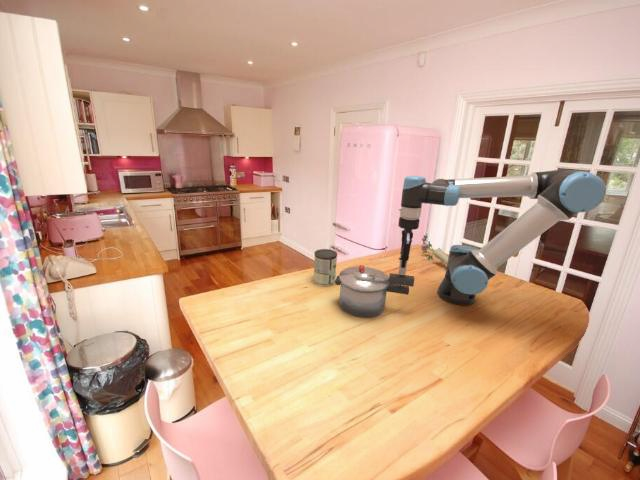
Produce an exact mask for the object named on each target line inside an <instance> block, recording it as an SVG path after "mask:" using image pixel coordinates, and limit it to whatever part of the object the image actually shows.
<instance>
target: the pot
mask: <svg viewBox="0 0 640 480" xmlns="http://www.w3.org/2000/svg"><path fill="white" fill-rule="evenodd" d="M334 285H336V286H340V291H339V301H338V304H339V307H340V309H341V310H342V311H343V312H344V313H346V314H348V315H349V316H353V317H355V318H361V319H369V318H372V319H373V318H376V317H379V316H381V315H382V314H383V313H384V311H385V305H386V300H387V299H386V298H387V293H394V294H400V295H409V294H410V286H403V285H396V284H390V285H389V287H388V288H387V289H385V290H383V291H380V292H360V291H355V290H352V289H350V288H347V287H346V286H344V285H343V284H342V283H341V282H340V280H339V275H337V276H336V278H335V283H334Z"/></svg>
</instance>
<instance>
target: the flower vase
mask: <svg viewBox="0 0 640 480" xmlns="http://www.w3.org/2000/svg"><path fill="white" fill-rule="evenodd" d="M428 239H429V238H428V233H426V234H425V235H423V237H422V239H421V241H422V244H421V251H422V252H421V253H422V254H425V253H429V254H427V255H426V256H425V257H426V258H427V259H428V260H430V259H432V258H433V257H435V258H436V259H438V260H440V261H441V262H442V263H444V264H445V265H446V266H447V263H448V258H449V255H447V254H446V253H445V252H444V251H443V249H441V248H440V247H437V249H435V250H434V248H433V245H432V244H431V241H430V240H429V241H428ZM428 250H431V252H432V253H431V252H429V251H428Z"/></svg>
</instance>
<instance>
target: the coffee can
mask: <svg viewBox="0 0 640 480" xmlns="http://www.w3.org/2000/svg"><path fill="white" fill-rule="evenodd" d="M313 255H314V261H313V262H314V265H313V266H314V267H313V283H314V284H315V285H317V286H321V287H330V286H333V285H335V280H336V278H337V276H336V275H337V274H336V273H337V260H338V252H337V251H336V250H333V249H328V248H321V249H316V250H315V251H314V254H313Z"/></svg>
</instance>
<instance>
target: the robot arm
mask: <svg viewBox="0 0 640 480" xmlns="http://www.w3.org/2000/svg"><path fill="white" fill-rule="evenodd" d="M426 179H427V178H426V177H424V176H420V175H407V176H405V177H404V180H403V181H404V182H403V185H402V186H403V187H402V192H401V201H400V207H398V211H399V218H398V227H399V228H401V229H402V230H401V247H400V253H399V254H400V257H398V260H399V266H398V273H397V274H400V275H407V274H406V273H407V266H408V261H409V258H410V252H411V246H412V242H413V240H412V239H413V238H414V233H413V230H417V229H419V226H420V221H421V220H420V218H421V214H422V208H423V207H422V205H423V204H429V205H438V206H446V207H448V206H449V207H450V206H452V207H454V206H455V207H456V206H457V205H458V203H459V200H460V199H469V198H470V199H474V198H475V199H477V198H478V199H479V198H480V199H481V198H515V197H516V198H518V197H519V198H520V197H528V198H529V199H530V200H537V201H536V203H534V205H532V206H531V207H530V208H528V210H526V211H525V212H524V213H523V214H521V215H520V216H519V217H518V218H516V219H515V220H514V221H513V222H511V223H510V224H509V225H508V226H507V227H506V228H504V229H503V230H502V231H500V232H499V233H498V234H497V235H495V236H494V237H493V238H492V239H490V240H489V241H488V242H486V244H485V245H483V246H482V247H481V248H480V249H479V248H478V247H473V246H470V245H464V244H454V245H452V246H450V249H449V250H448V251H449V254H448V257H449V258H448V263H447V265H446V269H445V274H444V278H443V279H442V281H441V282H440V284H439V286H438V287H437V295H438V297H440V298H441V299H442V300H444V301H446V302H448V303H451V304H454V305H459V306H470V305H472V304H474V303H475V301H476V298H477V297H476V296H477V295H478V294H480V293H482V292H483V291H485V290H486V288H487V287H488V284H489V280H491V279H492V278H493V277H494V276H496V275H497V274H498V268H499V267H500V266H502V265H503V264H504V263H505V262H507V261H508V260H509V259H511V258H512V257H513V256H515V255H516V254H518V253H519V252H520V251H521V250H522V249H524V248H525V247H527V246H528V245H529V244H530V243H532V242H533V241H534V240H536V239H537V238H538V237H539V236H541V235H543V234H544V233H545V232H546V231H547V230H549V229H550V228H552V227H553V226H554V225H556V224H557V223H558V222H561V221H569V220H571V219H572V218H574V217H575V216H576V215H577V214H579V213H587V212H591V211H592V210H594V209H595V208H597V207H599V206H600V205H601V203H603V201H604V199H605V197H606V192H607V191H606V190H607V187H606V184H605V182H604V181H603V179H602V178H601V177H599V176H598V175H596V174H593V173H592V172H589V171H580V170H575V169H570V168H563V169H561V168H560V169H555V170H547V171H545V170H544V171H538V172H537V171H533V172H532V173H530V174H529V175H516V176H515V175H512V176H511V175H509V176H493V177H491V176H490V177H473V178H470V177H469V178H454V179H452V178H450V179H444V178H437V179H435V180H434V181H433V182H427V181H426Z"/></svg>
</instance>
